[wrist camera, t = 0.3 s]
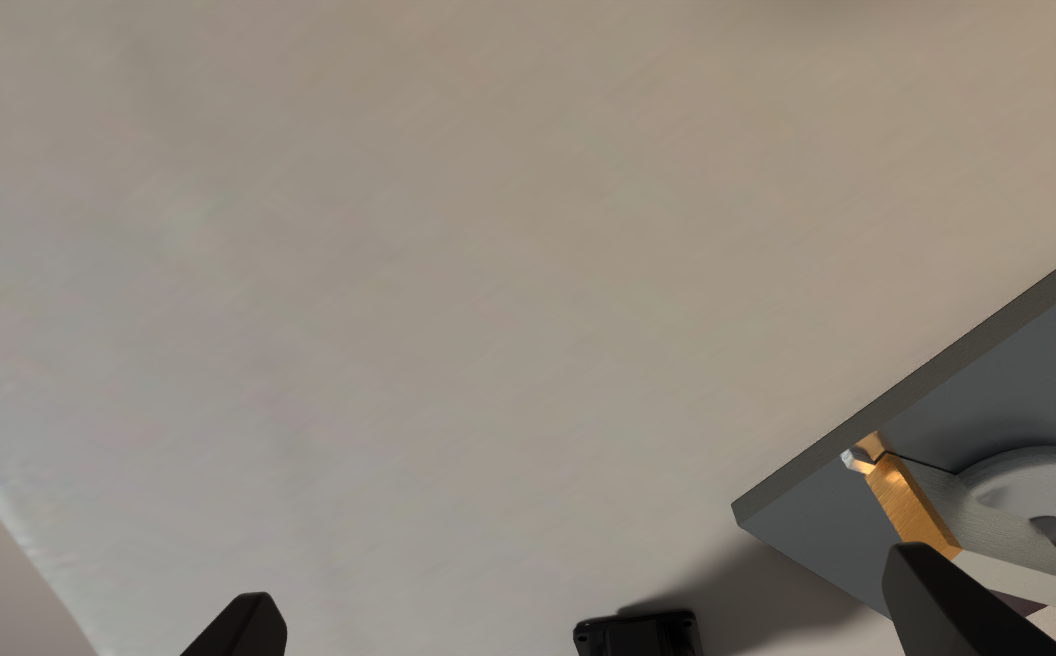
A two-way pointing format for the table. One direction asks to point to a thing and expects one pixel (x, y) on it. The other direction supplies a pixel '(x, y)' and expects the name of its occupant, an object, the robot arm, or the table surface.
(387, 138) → the table surface
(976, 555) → the dial
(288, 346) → the table surface
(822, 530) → the panel
